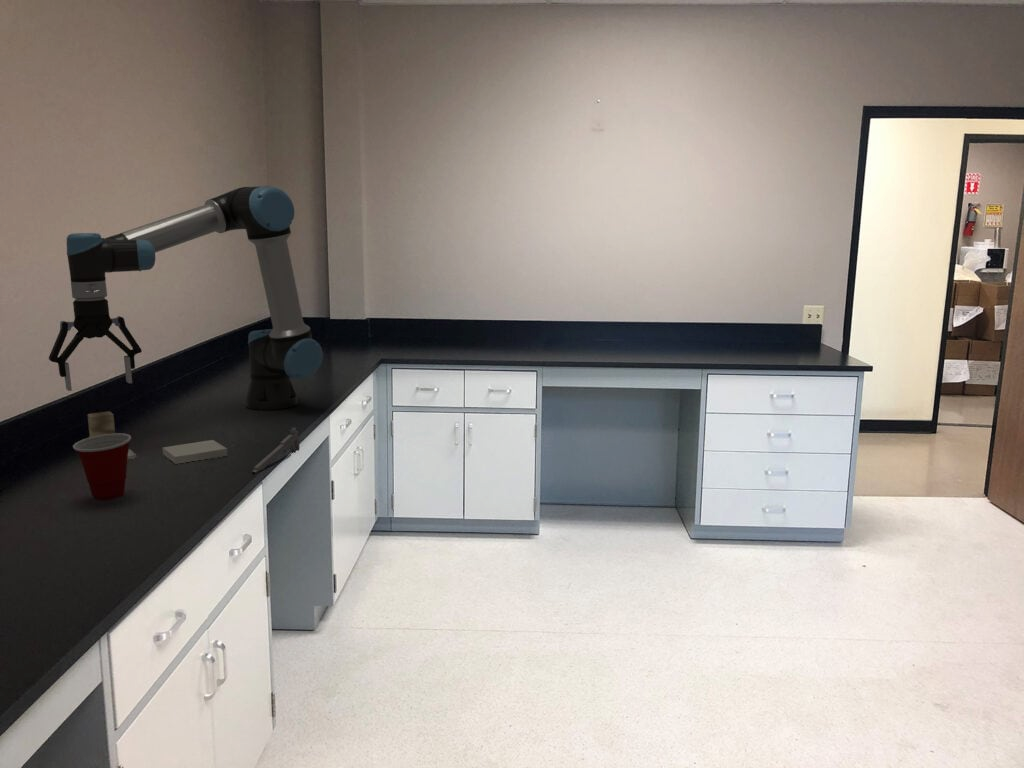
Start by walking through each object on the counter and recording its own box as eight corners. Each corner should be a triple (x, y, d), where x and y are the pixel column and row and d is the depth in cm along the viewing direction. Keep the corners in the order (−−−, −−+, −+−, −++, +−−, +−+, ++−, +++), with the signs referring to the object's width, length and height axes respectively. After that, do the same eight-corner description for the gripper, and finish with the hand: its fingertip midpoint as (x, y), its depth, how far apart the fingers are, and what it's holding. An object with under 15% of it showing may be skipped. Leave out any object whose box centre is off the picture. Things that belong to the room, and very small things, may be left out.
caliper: (295, 451, 211) (294, 426, 210) (299, 451, 211) (298, 426, 209) (251, 474, 191) (249, 447, 190) (255, 475, 191) (254, 447, 190)
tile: (212, 439, 212) (226, 448, 204) (213, 449, 213) (227, 458, 205) (162, 447, 205) (175, 456, 197) (163, 457, 206) (175, 466, 198)
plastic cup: (70, 495, 176) (64, 439, 173) (124, 484, 183) (119, 430, 181) (88, 508, 168) (83, 449, 166) (144, 496, 175) (139, 439, 173)
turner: (112, 438, 220) (110, 406, 218) (136, 458, 202) (134, 423, 201) (78, 443, 215) (75, 410, 214) (100, 464, 197) (96, 428, 196)
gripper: (34, 304, 194) (45, 395, 198) (149, 296, 209) (157, 381, 213) (28, 301, 200) (39, 390, 204) (141, 294, 215) (149, 377, 219)
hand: (99, 386), depth 209 cm, fingers open, 13 cm apart
